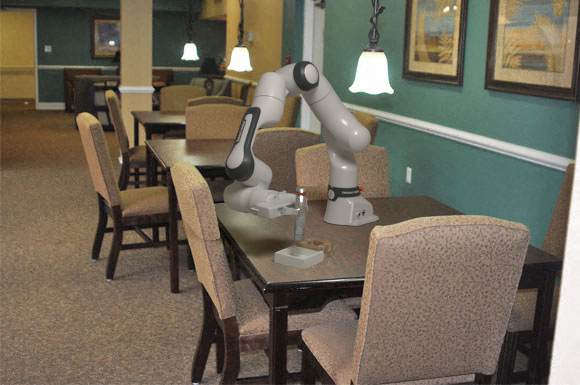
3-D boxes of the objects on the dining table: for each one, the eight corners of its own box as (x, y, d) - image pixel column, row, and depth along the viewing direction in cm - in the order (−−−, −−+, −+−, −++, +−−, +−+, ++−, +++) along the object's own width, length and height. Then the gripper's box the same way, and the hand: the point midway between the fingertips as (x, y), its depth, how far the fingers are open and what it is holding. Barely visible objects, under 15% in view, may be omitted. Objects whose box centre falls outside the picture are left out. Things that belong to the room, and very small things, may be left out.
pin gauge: (300, 236, 206) (302, 186, 203) (306, 239, 204) (308, 188, 200) (291, 238, 204) (293, 187, 201) (297, 240, 202) (299, 189, 198)
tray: (294, 254, 213) (294, 244, 212) (323, 261, 207) (323, 251, 206) (274, 262, 204) (274, 252, 204) (303, 269, 198) (304, 259, 198)
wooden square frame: (310, 249, 219) (311, 237, 218) (333, 254, 214) (334, 242, 213) (295, 255, 212) (295, 243, 211) (318, 261, 207) (319, 248, 206)
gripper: (246, 199, 200) (283, 206, 193) (285, 189, 217) (320, 195, 209) (245, 219, 202) (282, 227, 194) (284, 207, 218) (319, 215, 210)
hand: (302, 210), depth 202 cm, fingers closed on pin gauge, 3 cm apart
